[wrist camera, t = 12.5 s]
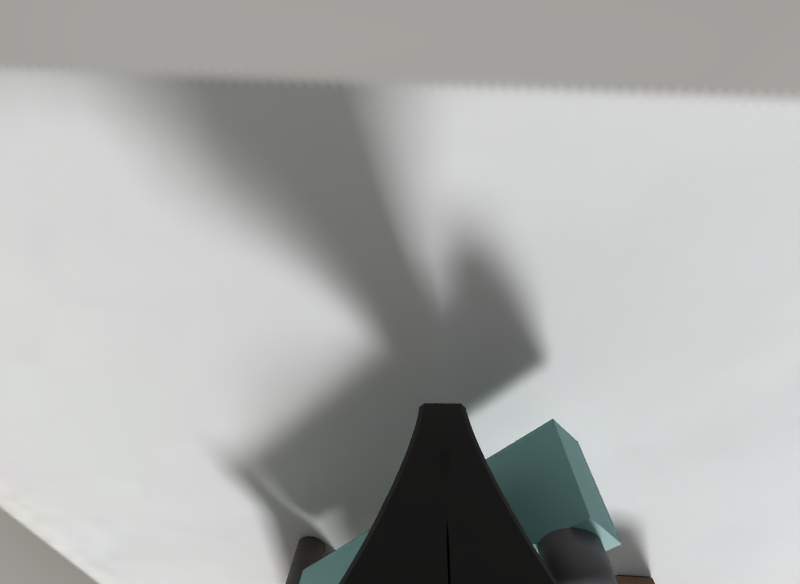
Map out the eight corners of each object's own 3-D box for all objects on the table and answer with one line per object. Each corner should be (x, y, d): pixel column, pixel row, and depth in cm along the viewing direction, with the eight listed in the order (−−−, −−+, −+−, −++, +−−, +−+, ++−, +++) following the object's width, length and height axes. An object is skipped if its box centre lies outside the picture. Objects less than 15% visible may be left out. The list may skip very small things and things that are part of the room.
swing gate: (327, 585, 13) (297, 724, 10) (300, 568, 13) (260, 706, 10) (580, 444, 10) (645, 594, 7) (550, 416, 9) (604, 560, 6)
